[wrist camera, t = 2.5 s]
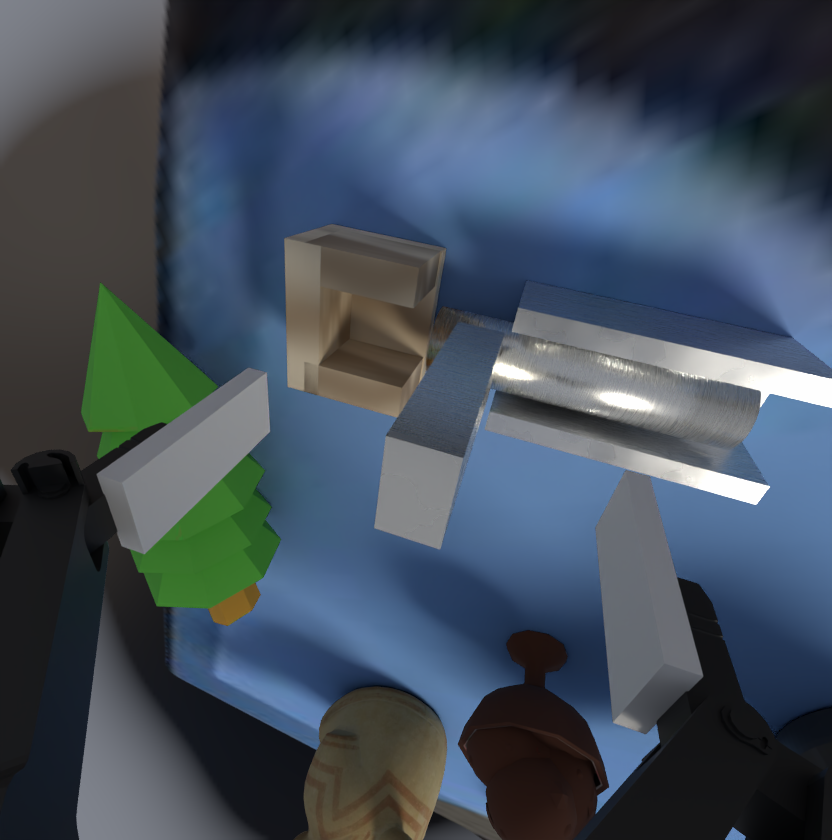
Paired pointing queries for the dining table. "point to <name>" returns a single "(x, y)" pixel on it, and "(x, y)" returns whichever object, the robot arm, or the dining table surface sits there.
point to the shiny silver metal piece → (538, 380)
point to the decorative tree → (218, 510)
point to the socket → (359, 315)
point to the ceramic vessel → (375, 768)
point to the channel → (668, 348)
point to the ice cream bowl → (534, 751)
